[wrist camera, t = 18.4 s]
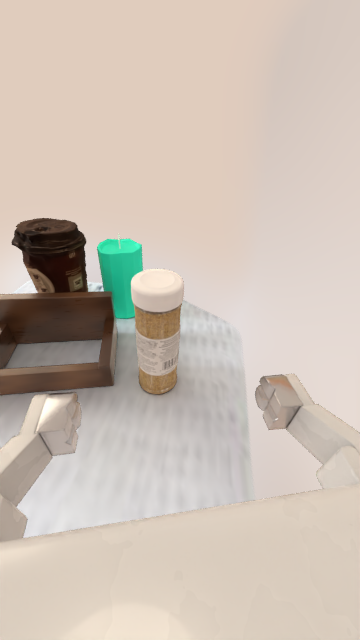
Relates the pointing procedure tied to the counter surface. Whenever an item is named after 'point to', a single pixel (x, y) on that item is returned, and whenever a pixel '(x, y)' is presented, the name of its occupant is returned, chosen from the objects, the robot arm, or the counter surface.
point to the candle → (120, 272)
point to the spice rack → (57, 338)
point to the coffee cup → (53, 254)
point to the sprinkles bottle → (157, 327)
